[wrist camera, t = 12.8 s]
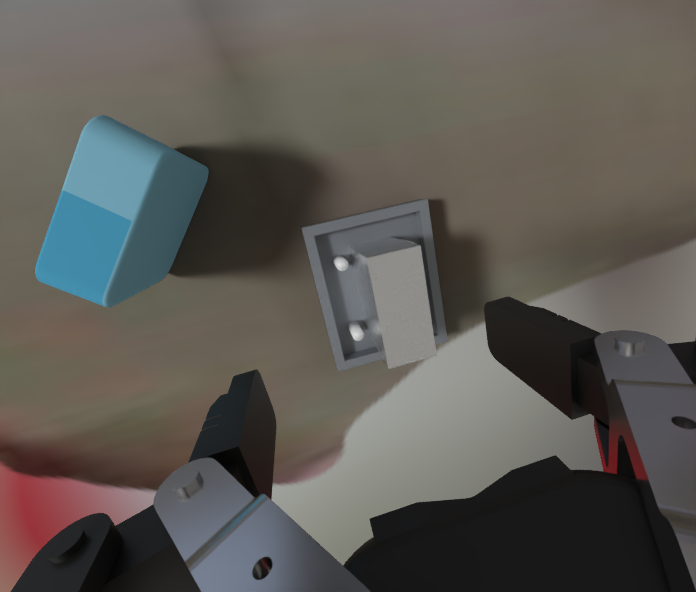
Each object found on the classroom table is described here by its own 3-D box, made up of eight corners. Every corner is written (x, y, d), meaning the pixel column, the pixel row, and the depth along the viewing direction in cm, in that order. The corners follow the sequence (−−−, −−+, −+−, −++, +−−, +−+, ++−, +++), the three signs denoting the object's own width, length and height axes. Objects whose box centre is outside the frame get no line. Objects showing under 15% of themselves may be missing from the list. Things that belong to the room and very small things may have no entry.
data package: (165, 144, 31) (88, 106, 19) (212, 169, 32) (166, 146, 20) (121, 259, 32) (26, 286, 21) (167, 278, 34) (101, 314, 22)
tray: (301, 226, 34) (301, 228, 30) (418, 199, 36) (433, 198, 31) (335, 360, 39) (339, 378, 35) (437, 332, 40) (453, 346, 36)
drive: (348, 246, 34) (366, 258, 26) (389, 236, 35) (420, 245, 26) (366, 332, 37) (388, 368, 29) (404, 322, 38) (436, 355, 29)
